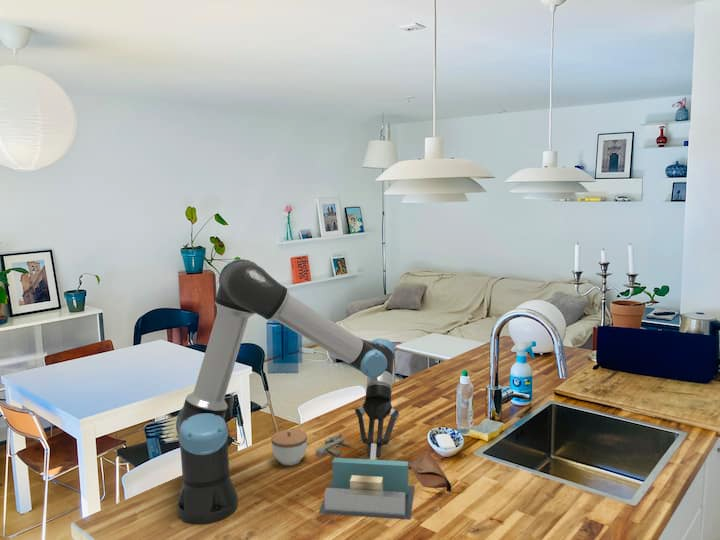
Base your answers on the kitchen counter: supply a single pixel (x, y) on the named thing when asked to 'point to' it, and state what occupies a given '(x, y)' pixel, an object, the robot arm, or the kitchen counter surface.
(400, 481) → the slide jaw
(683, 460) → the kitchen counter surface
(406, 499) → the vise base
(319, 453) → the clamp
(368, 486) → the block
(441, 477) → the sunglasses case
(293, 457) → the lidded jar
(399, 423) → the kitchen counter surface
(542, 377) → the kitchen counter surface
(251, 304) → the robot arm
